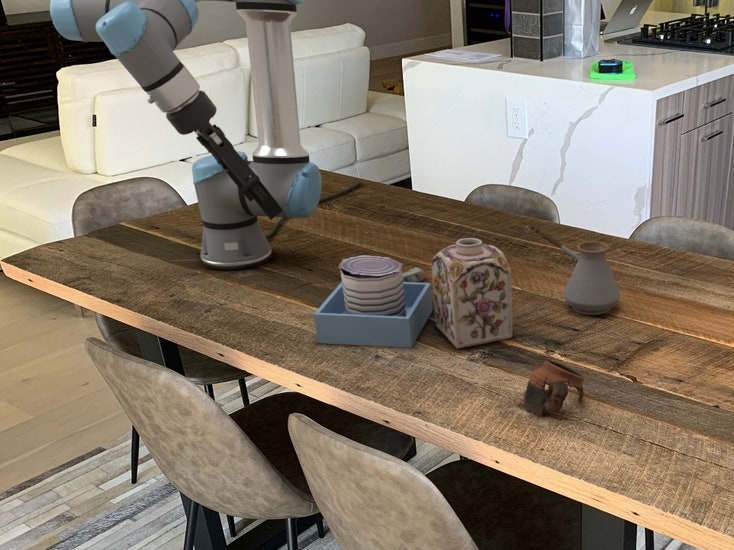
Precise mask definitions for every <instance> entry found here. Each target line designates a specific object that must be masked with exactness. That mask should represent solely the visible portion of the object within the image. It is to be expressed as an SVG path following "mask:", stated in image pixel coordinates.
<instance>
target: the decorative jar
mask: <svg viewBox="0 0 734 550" xmlns="http://www.w3.org/2000/svg"><path fill="white" fill-rule="evenodd" d="M430 264H431V281H432V283H431V284H432V300H433V308H434V322H435V326H436V328H437V329H438V330H439V331H440V332H441V334H443V335H444V337H445V338H446V339H448V341H449V342H450V343H451V344H452V345H453V346H454V347H455V348H456V349H457V350H458V349H459V350H460V349H463V348H469V347H474V346H480V345H484V344H489V343H494V342H499V341H503V340H509V339H512V337H513V326H514V325H513V322H514V321H513V319H514V318H513V317H514V316H513V283H512V282H513V281H512V269H511V267H510V264H509V262H508V261H507V259H506V255H505V253H504V252H503V251H501V250H500V248H498V247H496V246H495V245H492V244H487V243H483V241H482V240H481V239H480V238H474V237H466V238H460V239H458V240H456V242H455V244H450V245H448V246H446V247H445V248H442V249H441V250H439V251H438V252H437V253H436V254H435V255H434V256H433V257H432V259H431V262H430Z"/></svg>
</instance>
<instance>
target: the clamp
mask: <svg viewBox="0 0 734 550" xmlns="http://www.w3.org/2000/svg"><path fill="white" fill-rule="evenodd" d="M408 270H409V271H407V272H402V275H403V282H414V283H419V282H421V281H424V279H425V271H424V270H423V269H421V268H420V267H416V266H415V267H414V268H409V269H408Z"/></svg>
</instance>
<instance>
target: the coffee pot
mask: <svg viewBox="0 0 734 550" xmlns="http://www.w3.org/2000/svg"><path fill="white" fill-rule="evenodd" d="M528 228H529V229H528ZM527 229H528V230H527ZM530 230H533V231H534V233H535V234H539V236H541V237H542V238H543V239H544V240H545V241H547V242H549V243H551V244H552V245H554V246H555V247H557V248H559V250H560V249H561V250H562V251H564V252H565V253H566V254H568V255H569V256H571V257H572V258H574V259H575V260H577V263H576V265H575V266H574V269H573V270H572V273H571V275H570V278H569V280H568V282H567V284H566V287H565V289H564V291H563V297H564V301H565V302H566V303H567V304H568V306H570V308H572V310H573V311H574V312H577V313H579V314H583V315H589V316H590V315H591V316H594V315H595V316H596V315H603V314H606V313H608V312H609V311H611V309H612V308H614V307H615V306H616V305H617V304H618V303H619V301H620V299H621V292H620V289H619V286H618V284H617V282H616V279H615V276H614V274H613V271H612V269H611V267H610V263H609V261H608V259H607V254H608V251H609V250H610V245H609V244H607V243H606V242H603V241H595V240H592V241H583V242H580V243H578V244H577V245H576V249H577V251H578V253H579V254H577V253H576V252H575V251H573V250H571V249H570V248H569V247H566V246H565V245H564V244H563V243H562V242H560V241H559V240H557V239H556V238H554V237H553V236H552V235H551V234H549V233H548V232H545V231H543V230H541V228H540V227H536V225H534V224H532V223H530V222H529V223H527V225H526V227H525V228H524V233H528V232H529V231H530Z"/></svg>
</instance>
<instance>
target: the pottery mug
mask: <svg viewBox="0 0 734 550" xmlns="http://www.w3.org/2000/svg"><path fill="white" fill-rule="evenodd" d="M541 364H542V365H540V366H538V367H536V369H535V370H533V371H532V372H531V374H530V375H529V380H528V382H527V385H526V389H525V390H524V392H523V394H522V395H523V398H522V402H521V403H522V404H521V405H523V406H524V408H526V410H528V411H530V412H531V413H533V414H535V415H537V416H540V417H542V415H543V411H544V409H545V410H546V411H547V412H548V413H550V414H557V413H559V412H561V409H562V408H563V404H564V401H566V398H567V396H568V395H569V387H573V388H575V389H576V390H577V392H578V398H577V401H578V403H582V402H583V399H584V394H585V393H584V392H585V391H584V386H583V382H584V381H585V378H584V376H583V375H582V374H581V373H579V372H578V371H576V370H574V369H572V368H570V367H567V366H565V365H563V364H561V363H559V362H556V361H553V360H550V359H543V362H542V363H541ZM546 385H547V388H548V389H546Z"/></svg>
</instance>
